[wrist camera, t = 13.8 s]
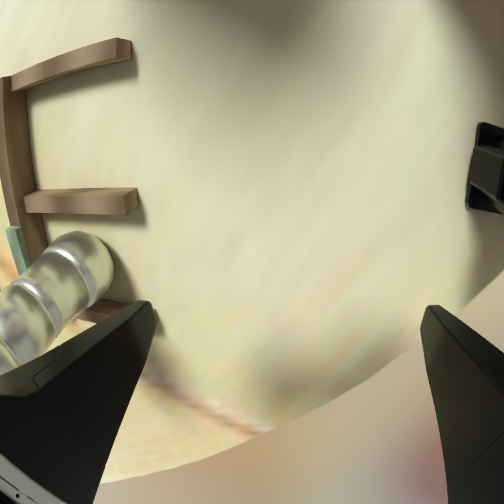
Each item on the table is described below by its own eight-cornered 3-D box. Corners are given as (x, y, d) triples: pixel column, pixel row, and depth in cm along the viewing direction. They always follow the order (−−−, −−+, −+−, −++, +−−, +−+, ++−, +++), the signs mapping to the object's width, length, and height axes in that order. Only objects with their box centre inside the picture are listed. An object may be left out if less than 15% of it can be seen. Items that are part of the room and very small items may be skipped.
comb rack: (131, 40, 17) (101, 34, 14) (157, 321, 28) (141, 347, 25) (15, 79, 19) (-14, 83, 15) (55, 299, 30) (36, 318, 27)
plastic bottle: (120, 294, 28) (-1, 465, 10) (66, 269, 27) (-61, 407, 10) (125, 237, 24) (-45, 423, 7) (66, 213, 24) (-101, 350, 7)
